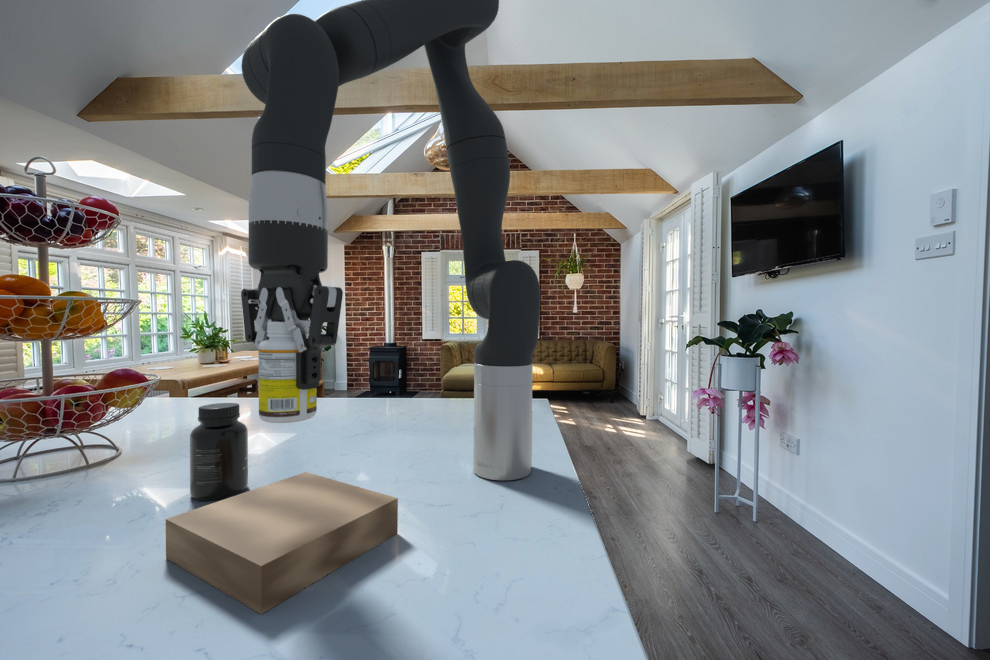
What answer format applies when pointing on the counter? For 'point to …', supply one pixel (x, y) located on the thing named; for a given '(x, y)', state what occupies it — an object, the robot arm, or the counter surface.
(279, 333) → the supplement bottle
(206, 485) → the supplement bottle
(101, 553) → the counter surface
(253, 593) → the walnut block
